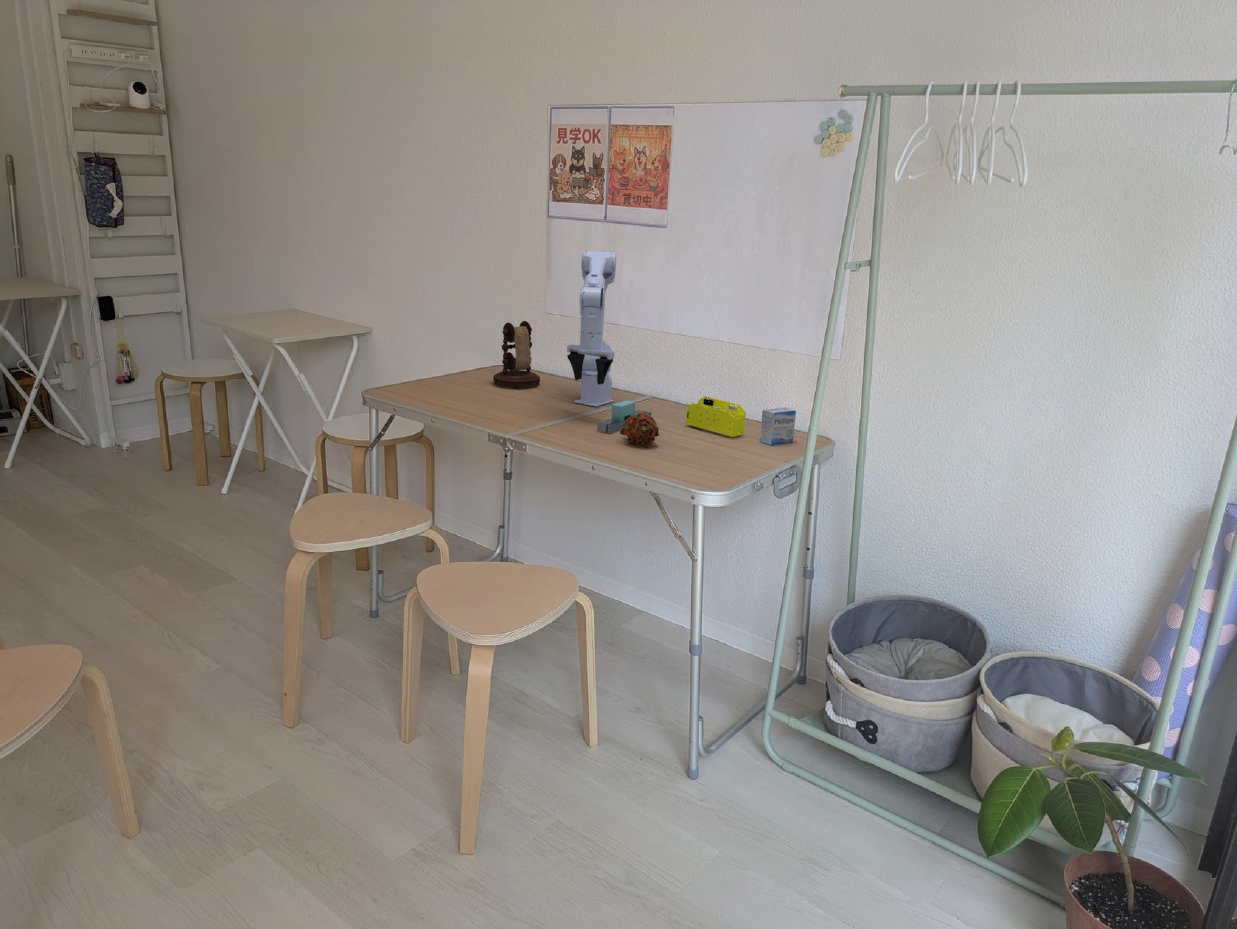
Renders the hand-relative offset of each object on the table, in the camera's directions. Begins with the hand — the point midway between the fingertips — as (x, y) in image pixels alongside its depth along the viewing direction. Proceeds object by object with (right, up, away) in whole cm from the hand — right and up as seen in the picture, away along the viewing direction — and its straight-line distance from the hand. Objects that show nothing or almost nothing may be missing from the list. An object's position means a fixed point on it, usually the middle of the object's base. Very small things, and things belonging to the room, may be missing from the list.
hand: (589, 381), depth 251 cm
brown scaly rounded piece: (+13, -17, -18) cm, 28 cm away
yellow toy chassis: (+34, -14, -4) cm, 37 cm away
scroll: (-24, +3, +41) cm, 47 cm away
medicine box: (+49, -17, -11) cm, 53 cm away
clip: (+9, -12, -2) cm, 15 cm away
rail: (+9, -12, -2) cm, 15 cm away
